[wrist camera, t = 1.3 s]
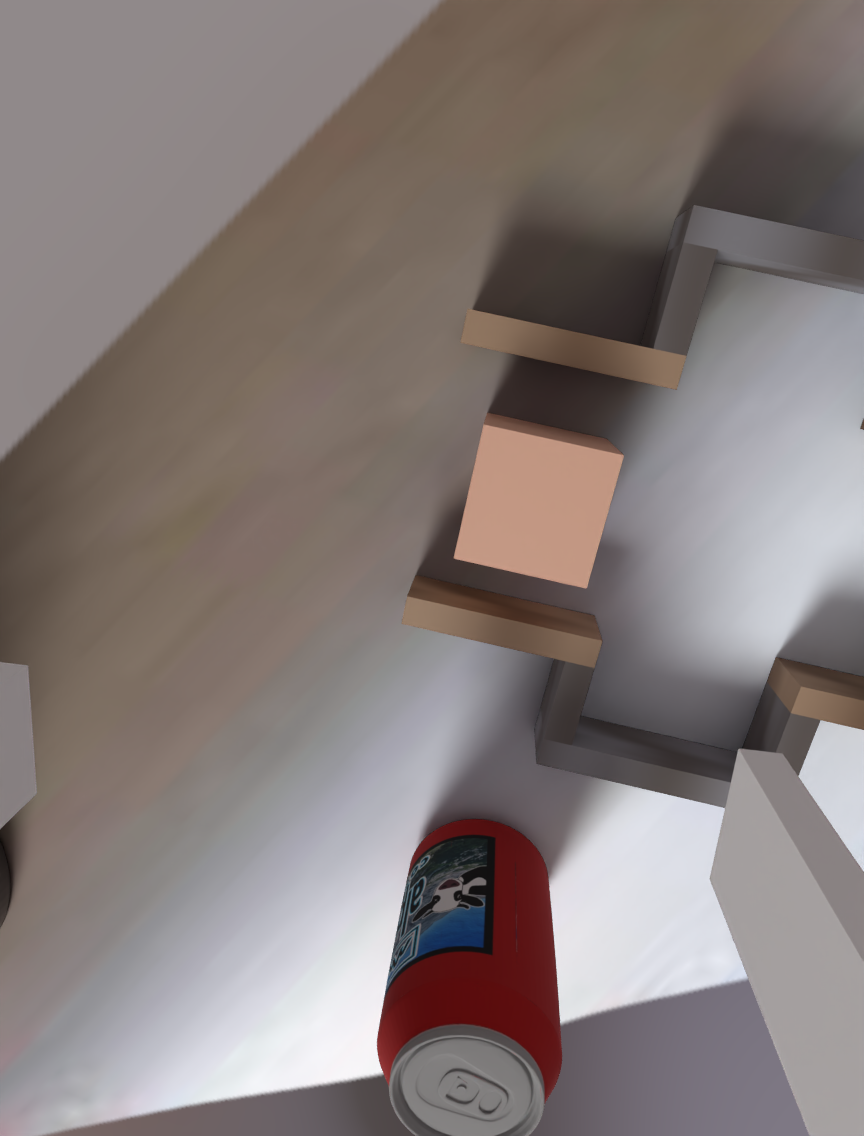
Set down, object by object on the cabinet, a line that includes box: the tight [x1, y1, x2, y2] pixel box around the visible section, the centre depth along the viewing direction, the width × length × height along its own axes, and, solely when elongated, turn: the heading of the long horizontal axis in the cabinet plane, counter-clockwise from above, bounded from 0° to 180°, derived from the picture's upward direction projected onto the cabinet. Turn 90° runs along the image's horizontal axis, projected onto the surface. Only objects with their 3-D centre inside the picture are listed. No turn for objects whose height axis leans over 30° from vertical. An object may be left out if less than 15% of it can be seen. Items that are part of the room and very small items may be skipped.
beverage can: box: [377, 819, 562, 1136], centre depth 32 cm, size 7×7×12 cm
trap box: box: [402, 205, 864, 808], centre depth 31 cm, size 23×22×3 cm
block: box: [454, 413, 624, 589], centre depth 30 cm, size 5×5×5 cm
